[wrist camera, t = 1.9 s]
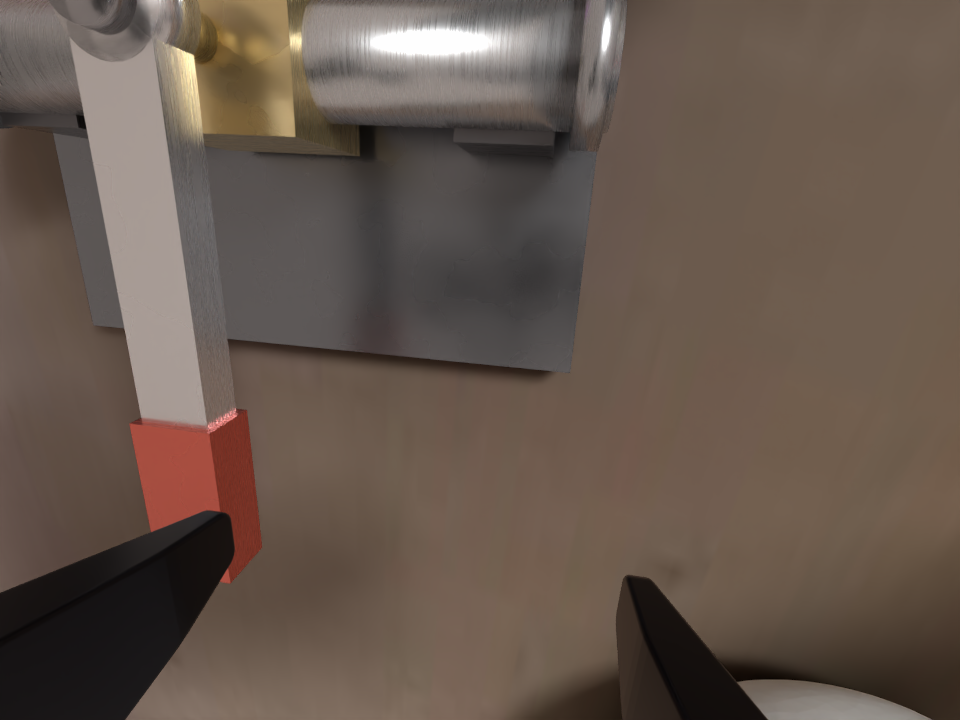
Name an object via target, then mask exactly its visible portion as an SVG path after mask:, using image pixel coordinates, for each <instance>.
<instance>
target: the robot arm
mask: <svg viewBox="0 0 960 720" xmlns="http://www.w3.org/2000/svg"><path fill="white" fill-rule="evenodd" d="M234 553H235V544H234V537H233V529H232V521H231V517H230V516H229V514H227V513H225V512H219V511H212V510H206V511H202V512H200V513H197V514H195V515H193V516H190V517H188V518H185V519H183V520H180V521H178V522H175V523H173V524H170V525H168V526H165V527H163V528H160V529H158V530H155V531H153V532H150V533H148V534H145V535H143V536H140V537H138V538H135V539H133V540H130V541H128V542H125V543H123V544H120V545H118V546H115V547H113V548H111V549H108V550H106V551H103V552H101V553H98V554H96V555H93V556H91V557H88V558H86V559H83V560H81V561H78V562H76V563H73V564H71V565H68V566H66V567H63V568H61V569H58V570H56V571H53V572H51V573H48V574H46V575H43V576H41V577H38V578H36V579H33V580H31V581H28V582H26V583H24V584H21V585H19V586H16V587H14V588H11V589H9V590H6V591H4V592H1V593H0V720H125V719H126V718H127V716H128V715H129V714H130V712H131V711H132V710H133V708H134V707H135V706H136V704H137V703H138V702H139V700H140V699H141V698H142V696H143V695H144V693H145V692H146V691H147V689H148V688H149V687H150V685H151V684H152V683H153V681H154V680H155V679H156V677H157V676H158V675H159V673H160V672H161V670H162V669H163V668H164V666H165V665H166V664H167V662H168V661H169V660H170V658H171V657H172V656H173V654H174V653H175V651H176V650H177V648H178V647H179V646H180V644H181V643H182V641H183V640H184V638H185V637H186V635H187V634H188V632H189V631H190V629H191V627H192V626H193V624H194V623H195V621H196V619H197V618H198V616H199V614H200V613H201V611H202V610H203V608H204V606H205V605H206V603H207V601H208V600H209V598H210V597H211V595H212V593H213V592H214V590H215V588H216V587H217V585H218V584H219V582H220V580H221V579H222V577H223V575H224V574H225V572H226V571H227V569H228V567H229V566H230V564H231V562H232V560H233V557H234ZM616 635H617V650H618V665H619V680H620V695H621V710H622V720H768V719H767V718H766V716H765V715H764V714H763V713H762V712H761V710H760V709H759V708H758V707H757V706H756V704H755V703H754V702H753V701H752V700H751V698H750V697H749V696H748V695H747V694H746V692H745V691H744V690H743V689H742V688H741V686H740V685H739V684H738V683H737V682H736V680H735V679H734V678H733V677H732V676H731V674H730V673H729V672H728V671H727V670H726V668H725V667H724V666H723V665H722V664H721V662H720V661H719V660H718V659H717V658H716V656H715V655H714V654H713V653H712V652H711V650H710V649H709V648H708V647H707V646H706V644H705V643H704V642H703V641H702V640H701V638H700V637H699V636H698V635H697V634H696V632H695V631H694V630H693V629H692V628H691V626H690V625H689V624H688V623H687V622H686V620H685V619H684V618H683V617H682V616H681V614H680V613H679V612H678V611H677V610H676V608H675V607H674V606H673V605H672V604H671V603H670V601H669V600H668V599H667V598H666V597H665V595H664V594H663V593H662V592H661V591H660V589H659V588H658V587H657V586H656V585H655V583H654V582H653V581H652V580H651V579H649V578H646V577H640V576H633V575H626V576H625V577H624V579H623V582H622V587H621V592H620V597H619V603H618V608H617V614H616Z"/></svg>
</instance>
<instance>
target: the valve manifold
mask: <svg viewBox="0 0 960 720" xmlns="http://www.w3.org/2000/svg"><path fill="white" fill-rule="evenodd" d="M198 2H199V6H200V12H201V34H200V40H199V44H198V47H197V50H196V52H195V54H194V61H195V69H196V78H197V86H198V94H199V103H200V111H201V120H202V128H203V136H204V145H205V153H206V162H207V170H208V178H209V187H210V195H211V203H212V212H213V220H214V229H215V237H216V245H217V254H218V262H219V271H220V279H221V287H222V296H223V304H224V312H225V321H226V329H227V338H228V339H235V340H245V341H255V342H265V343H275V344H285V345H295V346H305V347H315V348H325V349H335V350H345V351H355V352H365V353H375V354H385V355H395V356H405V357H415V358H425V359H435V360H445V361H455V362H465V363H475V364H485V365H495V366H505V367H515V368H525V369H535V370H545V371H555V372H565V373H570V369H571V361H572V352H573V344H574V336H575V328H576V319H577V311H578V303H579V295H580V286H581V278H582V270H583V262H584V253H585V245H586V237H587V229H588V221H589V212H590V204H591V196H592V188H593V179H594V171H595V163H596V155H597V151H598V148H599V145H600V142H601V137H602V133H607V131H608V128H609V125H610V121H611V116H612V112H613V107H614V102H615V97H616V91H617V85H618V79H619V73H620V66H621V59H622V52H623V44H624V35H625V25H626V13H627V0H198ZM12 127H18V128H25V129H31V130H37V131H43V132H49V133H53V136H54V141H55V145H56V150H57V155H58V160H59V164H60V169H61V174H62V179H63V183H64V188H65V193H66V198H67V202H68V207H69V212H70V217H71V221H72V226H73V231H74V236H75V240H76V245H77V250H78V255H79V259H80V264H81V269H82V274H83V278H84V283H85V288H86V293H87V297H88V302H89V307H90V312H91V316H92V321H93V325H95V326H105V327H115V328H124V323H123V318H122V313H121V307H120V302H119V297H118V292H117V286H116V281H115V276H114V271H113V265H112V260H111V255H110V249H109V244H108V239H107V234H106V228H105V223H104V218H103V212H102V207H101V202H100V197H99V191H98V186H97V181H96V176H95V170H94V165H93V160H92V154H91V149H90V144H89V139H88V133H87V128H86V123H85V118H84V112H83V107H82V102H81V96H80V91H79V86H78V81H77V75H76V70H75V65H74V59H73V54H72V49H71V44H70V38H69V36H68V34H67V33H66V31H65V30H64V29H63V27H62V25H61V24H60V22H59V20H58V18H57V16H56V14H55V11H54V9H53V7H52V6H51V4H50V3H49V1H48V0H0V128H12Z"/></svg>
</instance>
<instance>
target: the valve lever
mask: <svg viewBox="0 0 960 720" xmlns="http://www.w3.org/2000/svg"><path fill="white" fill-rule="evenodd" d="M48 1H49V3H50V4H51V6H52V7H53V9H54V11H55V14H56V16H57V18H58V20H59V22H60V24H61V25H62V27H63V29H64V30H65V31H66V33H67V34H68V36H69V38H70V44H71V49H72V54H73V59H74V65H75V70H76V75H77V81H78V86H79V91H80V96H81V102H82V107H83V112H84V118H85V123H86V128H87V133H88V139H89V144H90V149H91V154H92V160H93V165H94V170H95V176H96V181H97V186H98V191H99V197H100V202H101V207H102V212H103V218H104V223H105V228H106V234H107V239H108V244H109V249H110V255H111V260H112V265H113V271H114V276H115V281H116V286H117V292H118V297H119V302H120V307H121V313H122V318H123V323H124V329H125V334H126V339H127V344H128V350H129V355H130V360H131V366H132V371H133V376H134V381H135V387H136V392H137V397H138V402H139V408H140V413H141V418H140V419H138V420H136V421H134V422H132V423H130V429H131V434H132V439H133V444H134V449H135V454H136V459H137V464H138V469H139V474H140V479H141V484H142V489H143V494H144V499H145V504H146V509H147V514H148V519H149V524H150V529H151V532H153V531H155V530H158V529H160V528H163V527H165V526H168V525H170V524H173V523H175V522H178V521H180V520H183V519H185V518H188V517H190V516H193V515H195V514H197V513H200V512H202V511H206V510H212V511H219V512H225V513H227V514H229V516H230V517H231V521H232V529H233V537H234V544H235V553H234V557H233V560H232V562H231V564H230V566H229V567H228V569H227V571H226V572H225V574H224V575H223V577H222V579H221V580H220V582H225V583H231V582H232V581H233V580H234V579H235V578H236V577H237V575H238V574H239V573H240V572H241V571H242V570H243V569H244V567H245V566H246V565H247V564H248V563H249V562H250V561H251V559H252V558H253V557H254V556H255V555H256V554H257V553H258V551H259V550H260V549H261V548H262V542H261V533H260V524H259V515H258V506H257V497H256V488H255V479H254V470H253V461H252V452H251V443H250V434H249V425H248V416H247V410H242V409H236V405H235V396H234V388H233V380H232V371H231V363H230V354H229V346H228V338H227V329H226V321H225V312H224V304H223V296H222V287H221V279H220V271H219V262H218V254H217V245H216V237H215V229H214V220H213V212H212V203H211V195H210V187H209V178H208V170H207V162H206V153H205V145H204V136H203V128H202V120H201V111H200V103H199V94H198V86H197V78H196V69H195V61H194V54H195V52H196V50H197V47H198V44H199V40H200V34H201V12H200V6H199V2H198V0H48Z"/></svg>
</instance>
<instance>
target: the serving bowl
mask: <svg viewBox="0 0 960 720" xmlns="http://www.w3.org/2000/svg"><path fill="white" fill-rule="evenodd" d="M737 683H738V684H739V685H740V686H741V688H742V689H743V690H744V691H745V692H746V694H747V695H748V696H749V697H750V698H751V700H752V701H753V702H754V703H755V704H756V706H757V707H758V708H759V709H760V710H761V712H762V713H763V714H764V715H765V716H766V718H767V719H768V720H932V719H930V718H928V717H926V716H924V715H921V714H919V713H917V712H915V711H913V710H911V709H908V708H906V707H903V706H901V705H898V704H896V703H893V702H891V701H888V700H885V699H882V698H879V697H876V696H873V695H870V694H866V693H863V692H859V691H856V690H852V689H847V688H843V687H838V686H834V685H828V684H822V683H816V682H808V681H797V680H748V681H741V682H737Z"/></svg>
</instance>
